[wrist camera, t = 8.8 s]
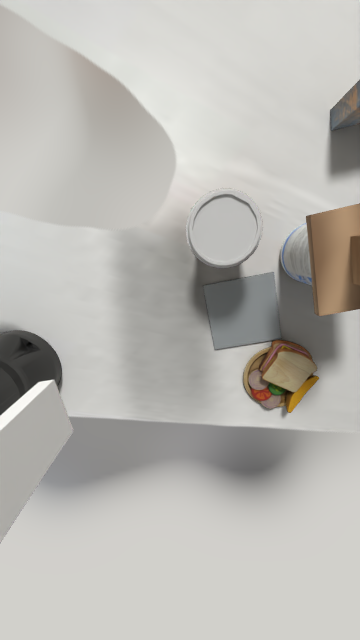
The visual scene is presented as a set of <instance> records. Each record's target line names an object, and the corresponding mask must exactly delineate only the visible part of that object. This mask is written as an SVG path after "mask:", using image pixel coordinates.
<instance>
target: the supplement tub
mask: <svg viewBox="0 0 360 640" xmlns="http://www.w3.org/2000/svg"><path fill="white" fill-rule="evenodd" d="M280 257H281V263H282V266H283V268H284V270H285V272H286V273H287V274H288V275H289V276H290V277H291V278H293V279H295V280H297V281H300V282H302V283H305V284H308V285H311V286H312V278H311V267H310V256H309V245H308V234H307V223H305V224H302V225H300V226H298V227H297V228H295V229H294V230H293V231H292V232H291V233H290V234H289V235H288V236H287V237H286V239H285V241H284V243H283V245H282V248H281V254H280Z"/></svg>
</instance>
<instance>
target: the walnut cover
mask: <svg viewBox="0 0 360 640" xmlns="http://www.w3.org/2000/svg"><path fill="white" fill-rule="evenodd" d="M306 223H307V234H308V245H309V256H310V267H311V278H312V289H313V300H314V311H315V314H316V315H318V316H323V315H329V314H334V313H340V312H345V311H351V310H356V309H360V204H356V205H351V206H347V207H343V208H339V209H334V210H330V211H326V212H322V213H317V214H313V215H309V216H306Z"/></svg>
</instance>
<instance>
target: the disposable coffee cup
mask: <svg viewBox="0 0 360 640" xmlns="http://www.w3.org/2000/svg"><path fill="white" fill-rule="evenodd" d="M262 231H263V221H262V217H261V213H260V211H259V208H258V206H257V205H256V203H255V202H254V201H253V199H251V198H250V197H249V196H248V195H247V194H245V193H243V192H242V191H239V190H236V189H232V188H221V189H216V190H213V191H211V192H209V193H207V194H205V195H204V196H202V197H201V198H200V199H199V200H198V201H197V202H196V203H195V205H194V206H193V208H192V209H191V211H190V213H189V216H188V219H187V223H186V237H187V242H188V245H189V247H190V249H191V251H192V253H193V254H194V255H195V256H196V257H197V258H198V259H199V260H200V261H201V262H203V263H204V264H206V265H208V266H211V267H214V268H230V267H234V266H237V265H239V264H241V263H243V262H244V261H246V260H247V259H248V258H249V257H250V256H251V255H252V254H253V253H254V251H255V250H256V248H257V247H258V245H259V242H260V240H261V236H262Z"/></svg>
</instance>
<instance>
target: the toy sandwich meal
mask: <svg viewBox="0 0 360 640" xmlns="http://www.w3.org/2000/svg"><path fill="white" fill-rule="evenodd" d="M316 370H317V366H316V365H315V363H314V362H313V361H312V357H311V355H310V353H309V352H308V351H307V350H306V349H305V348H303V347H302V346H300V345H298V344H295V343H292V342H289V341H283V340H275V341H273V342H272V346H271V347H269V348H266V349H263V350H261V351H260V352H258V353H257V354H255V355H254V356H253V357H252V358H251V359H250V360H249V362H248V363H247V365H246V367H245V370H244V375H243V381H244V386H245V389H246V391H247V392H248V394H249V395H250V396H251V397H252V398H253V399H254V400H255V401H257V402H259V403H261V404H262V405H263V406H265V407H266V408H275V407H280V406H286V408H287V411H288V412H289V413H291V412H292V411H293V409H294V408H295V407H296V405H297V404H298V403H299V402H300V400H301V399H302V397H303V396H304V395H305V394H306V392H307V391H308V390H309V389H310V388H311V387H312V386H313V385H314V384H315V383H316V381H317V380H318V379H319V377H317V376H314V375H313V372H315V371H316Z"/></svg>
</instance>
